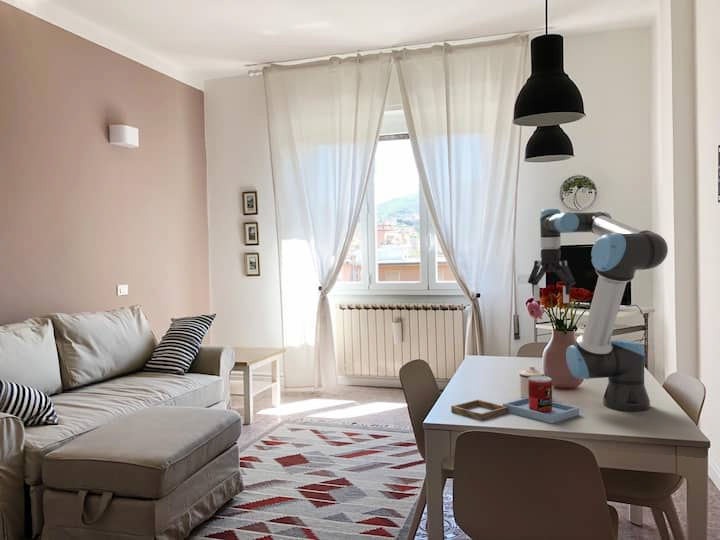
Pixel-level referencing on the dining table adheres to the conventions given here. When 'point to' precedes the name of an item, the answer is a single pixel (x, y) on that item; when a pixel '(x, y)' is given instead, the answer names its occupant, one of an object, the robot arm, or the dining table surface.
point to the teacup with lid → (524, 380)
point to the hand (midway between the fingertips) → (551, 302)
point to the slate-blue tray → (555, 415)
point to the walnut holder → (495, 411)
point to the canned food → (540, 393)
